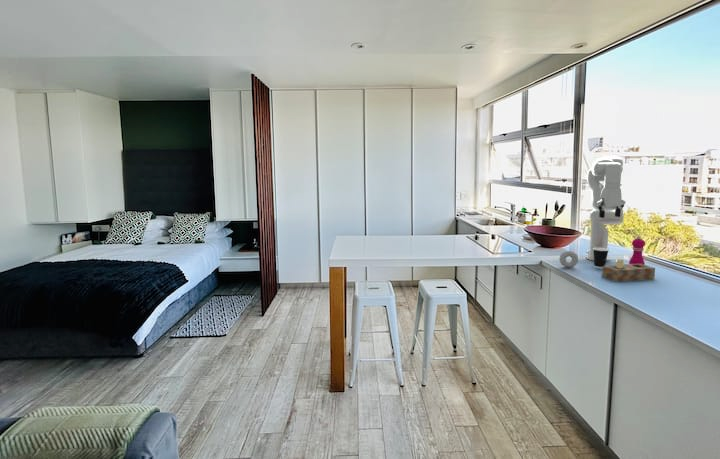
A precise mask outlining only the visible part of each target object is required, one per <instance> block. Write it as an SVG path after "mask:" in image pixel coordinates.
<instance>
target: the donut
mask: <svg viewBox="0 0 720 459" xmlns="http://www.w3.org/2000/svg"><path fill="white" fill-rule="evenodd" d="M567 257H568V258H569V257H570V258H571V261H570V260H569V261H567ZM578 262H579V256H578V254H577V253H576V252H574V251H573V250H565V251H563V252H562V253H561V254H560V255H559V263H560V265H561V266H563V267H564V268H573V267H575V266H576V265H577V264H578Z"/></svg>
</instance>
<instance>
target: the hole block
mask: <svg viewBox="0 0 720 459" xmlns="http://www.w3.org/2000/svg"><path fill="white" fill-rule="evenodd" d="M655 274H656V267H653V266H650V265H646V264H645V265H644V264H640V263H637V264H629V263H623V269H618V268H616V264H607V265H605V266H603V269H602V274H601V277H602V278H604V279H608V280H610V281H612V280H613V282H615V281H616V282H615V283H618V282H619V281H622V282H635V280H636V281H645V280H646V281H647V280H655ZM619 283H620V282H619Z"/></svg>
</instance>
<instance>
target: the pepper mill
mask: <svg viewBox="0 0 720 459" xmlns="http://www.w3.org/2000/svg"><path fill="white" fill-rule="evenodd" d="M631 245H632V250H633V251H632V255H631V258H630V259H629V262H628V264H637V263H640V264H644V265H646V264H645V259H644V257H643V251H644V247H645V245H646V241H645V240H644V239H643V238H642V237H641V236H640V235H638V236H637V238H635V239H633V240H632V242H631Z"/></svg>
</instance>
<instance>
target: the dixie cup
mask: <svg viewBox="0 0 720 459" xmlns="http://www.w3.org/2000/svg"><path fill="white" fill-rule="evenodd" d="M593 250H594V260H593V264H594V268H595V269H602V270H603V266H606V262H607V261H606V259H607V257H608V253H609V248H608V247H607V248H593Z"/></svg>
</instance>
